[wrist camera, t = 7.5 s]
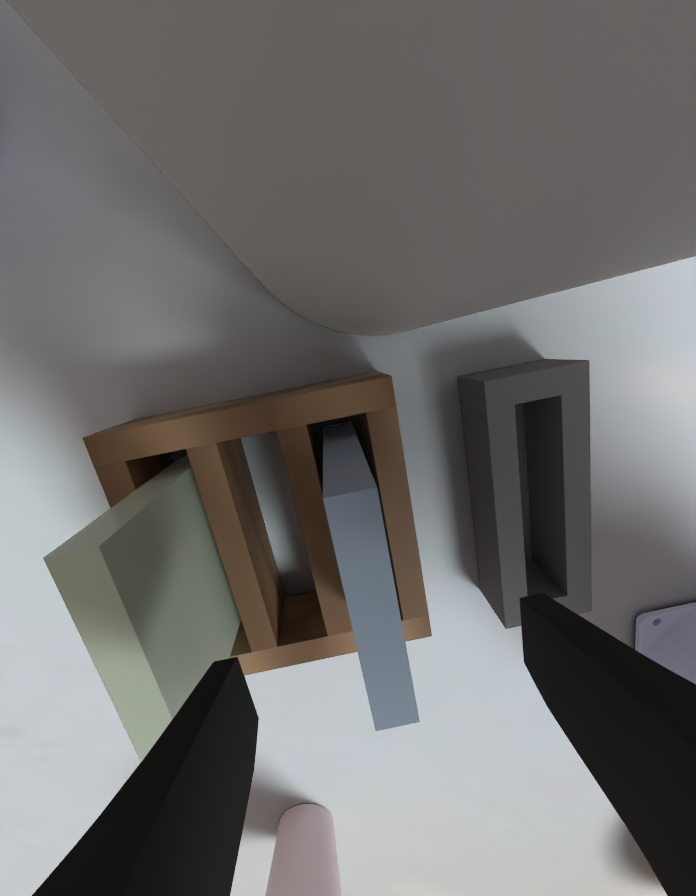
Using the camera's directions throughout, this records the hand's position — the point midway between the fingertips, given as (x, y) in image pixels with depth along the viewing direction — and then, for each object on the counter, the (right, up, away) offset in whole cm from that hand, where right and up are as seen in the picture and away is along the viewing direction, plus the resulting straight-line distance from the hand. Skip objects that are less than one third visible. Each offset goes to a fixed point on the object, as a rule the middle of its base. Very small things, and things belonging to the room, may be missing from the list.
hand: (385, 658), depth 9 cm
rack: (-4, +2, +10) cm, 11 cm away
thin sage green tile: (-8, +1, +10) cm, 12 cm away
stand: (+8, +3, +10) cm, 13 cm away
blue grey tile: (-1, +3, +10) cm, 10 cm away
